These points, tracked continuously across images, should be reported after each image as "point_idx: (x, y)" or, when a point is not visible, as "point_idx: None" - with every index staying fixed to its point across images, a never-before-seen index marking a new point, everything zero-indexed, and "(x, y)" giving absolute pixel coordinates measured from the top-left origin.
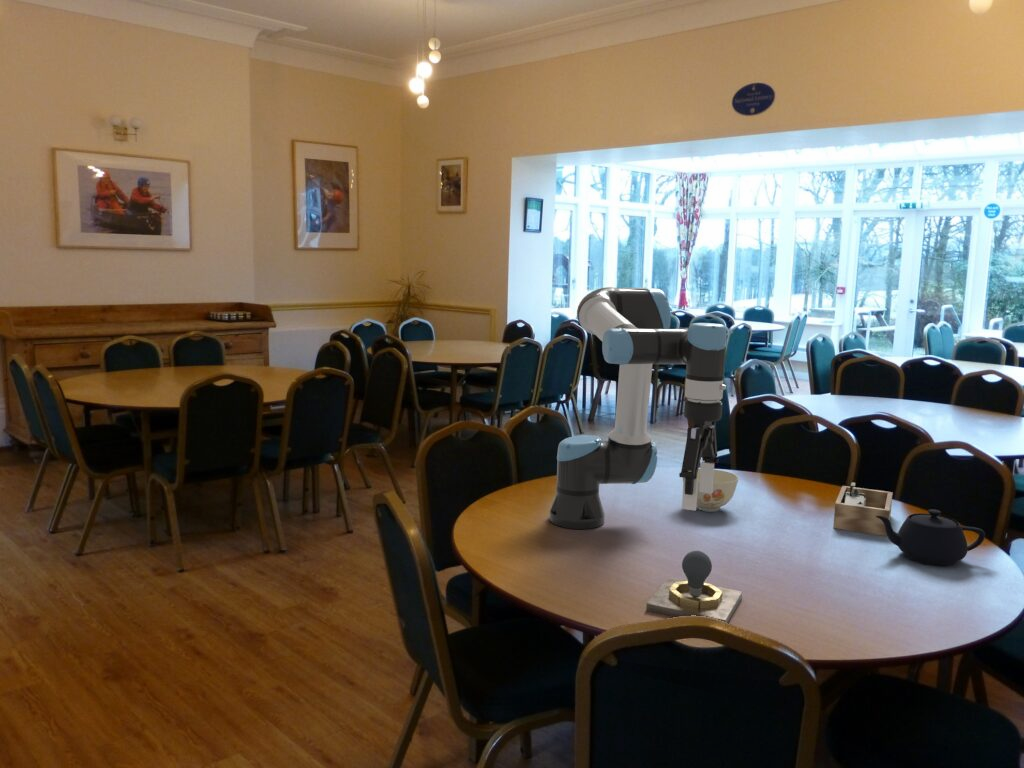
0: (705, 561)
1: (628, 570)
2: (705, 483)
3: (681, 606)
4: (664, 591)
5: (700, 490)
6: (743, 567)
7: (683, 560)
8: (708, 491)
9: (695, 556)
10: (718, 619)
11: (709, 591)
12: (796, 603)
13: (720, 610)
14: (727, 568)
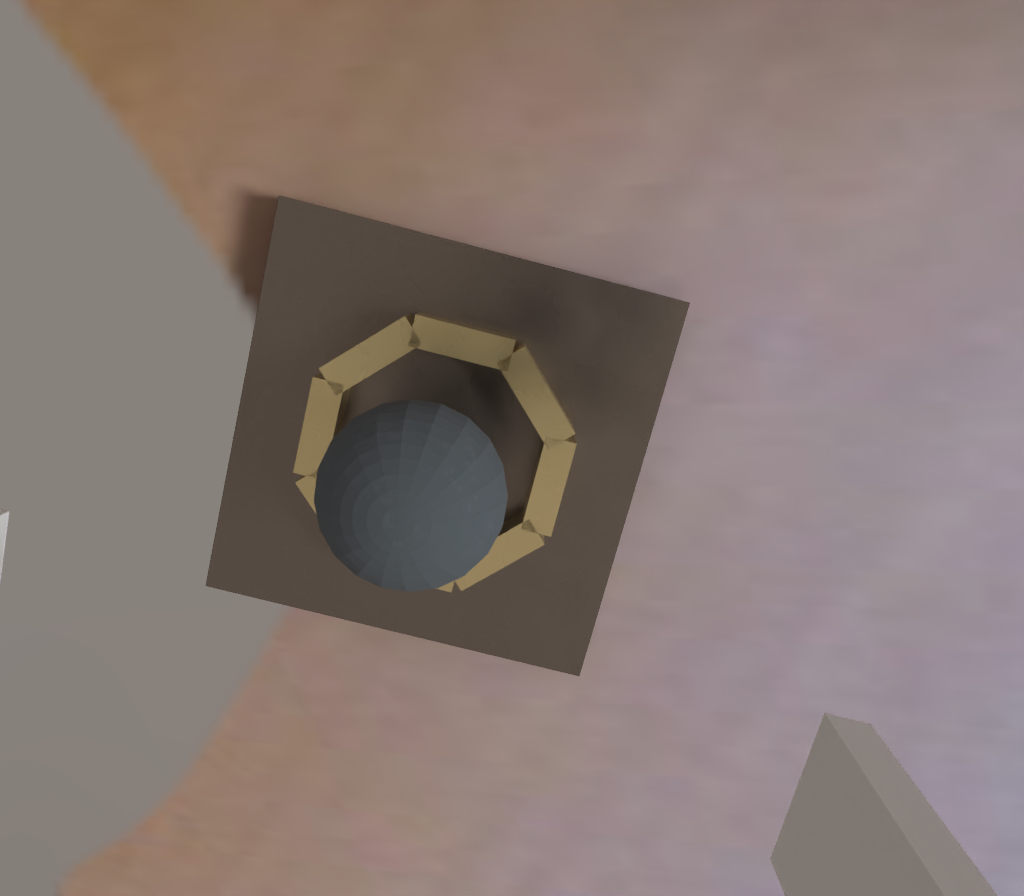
0: (344, 562)
1: (844, 49)
2: (845, 872)
3: (298, 380)
4: (472, 285)
5: (825, 739)
6: (1005, 690)
7: (386, 414)
8: (789, 837)
9: (345, 504)
10: (212, 554)
11: (507, 523)
12: (581, 880)
13: (310, 567)
14: (976, 611)
